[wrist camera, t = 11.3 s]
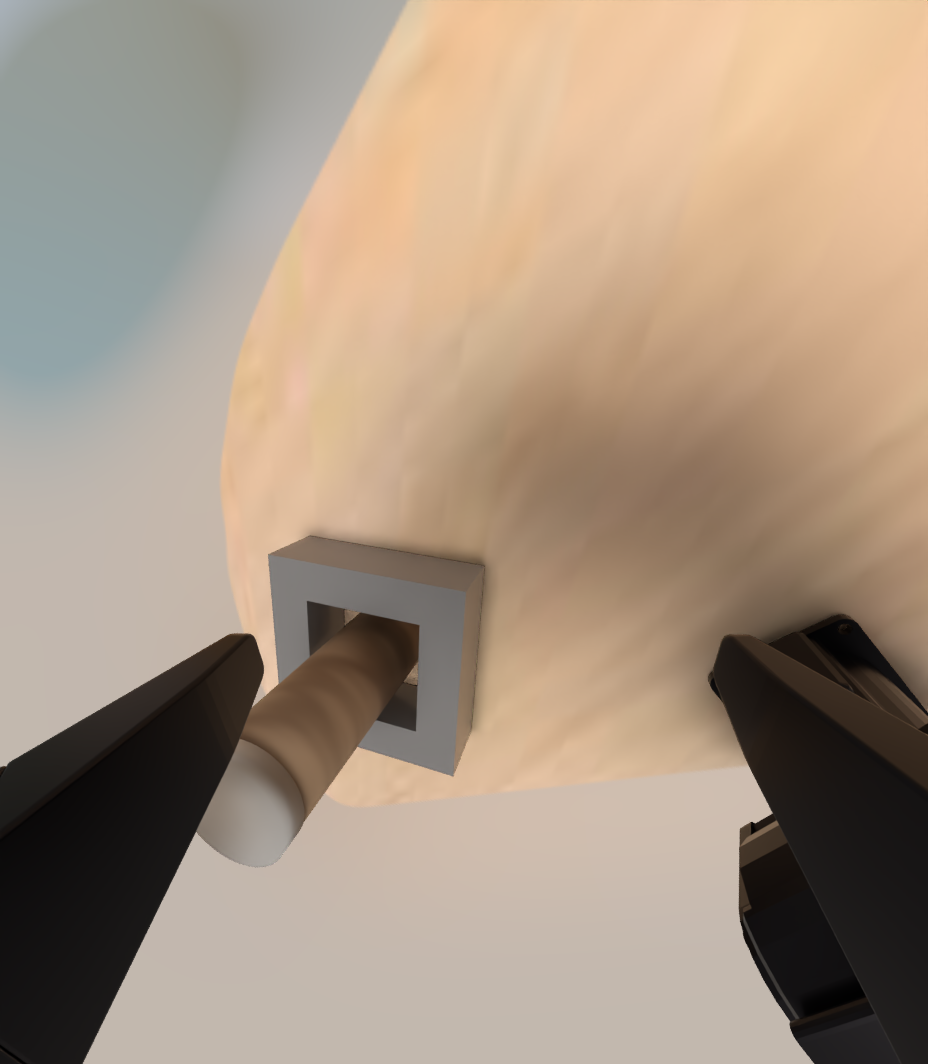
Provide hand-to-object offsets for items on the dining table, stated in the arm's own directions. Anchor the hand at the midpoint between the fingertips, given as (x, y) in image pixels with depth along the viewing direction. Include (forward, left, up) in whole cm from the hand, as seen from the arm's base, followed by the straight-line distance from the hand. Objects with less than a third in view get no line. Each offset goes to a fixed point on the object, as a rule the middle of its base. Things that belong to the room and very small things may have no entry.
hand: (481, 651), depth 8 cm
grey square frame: (-1, +13, -14) cm, 19 cm away
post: (-1, +13, -14) cm, 19 cm away
